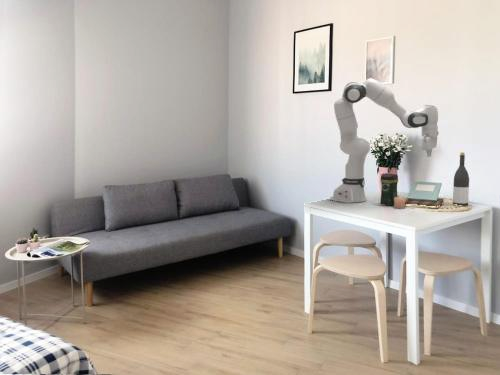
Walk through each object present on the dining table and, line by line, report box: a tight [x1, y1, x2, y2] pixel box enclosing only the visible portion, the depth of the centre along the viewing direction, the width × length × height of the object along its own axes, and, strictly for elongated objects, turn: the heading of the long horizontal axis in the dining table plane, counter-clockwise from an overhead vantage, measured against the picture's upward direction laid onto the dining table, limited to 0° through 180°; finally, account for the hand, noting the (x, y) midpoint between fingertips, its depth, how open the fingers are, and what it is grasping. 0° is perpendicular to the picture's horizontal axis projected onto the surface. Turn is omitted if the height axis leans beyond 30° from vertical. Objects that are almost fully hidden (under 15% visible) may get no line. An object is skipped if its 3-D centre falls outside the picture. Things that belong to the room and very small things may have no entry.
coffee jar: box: [380, 172, 399, 207], centre depth 272 cm, size 10×8×19 cm
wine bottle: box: [452, 151, 470, 207], centre depth 263 cm, size 8×8×30 cm
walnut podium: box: [405, 197, 445, 207], centre depth 268 cm, size 18×16×8 cm
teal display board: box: [406, 181, 443, 202], centre depth 268 cm, size 16×14×1 cm
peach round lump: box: [393, 195, 406, 210], centre depth 263 cm, size 6×6×6 cm
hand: (428, 156), depth 275 cm, fingers closed
